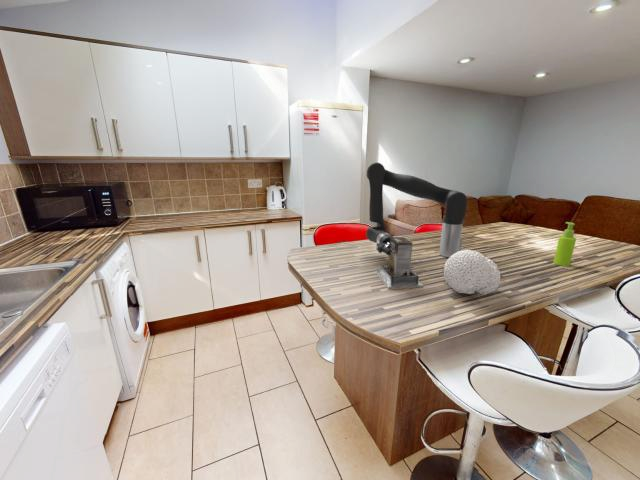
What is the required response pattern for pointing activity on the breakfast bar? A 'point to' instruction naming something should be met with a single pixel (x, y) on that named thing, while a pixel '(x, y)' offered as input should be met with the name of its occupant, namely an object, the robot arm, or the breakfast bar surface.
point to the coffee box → (399, 256)
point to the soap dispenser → (565, 247)
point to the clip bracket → (399, 280)
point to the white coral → (471, 273)
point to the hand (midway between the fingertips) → (399, 252)
